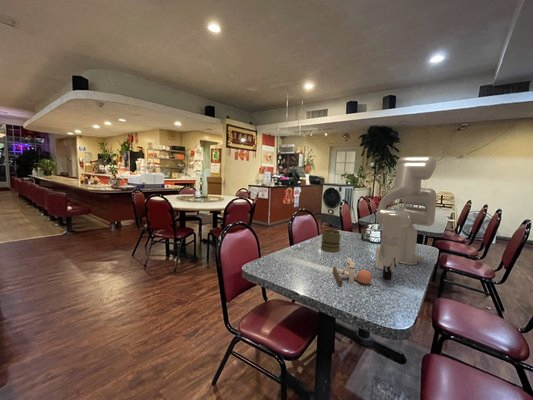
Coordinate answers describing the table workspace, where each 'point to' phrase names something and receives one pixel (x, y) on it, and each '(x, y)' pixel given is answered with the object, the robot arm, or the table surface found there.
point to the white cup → (378, 263)
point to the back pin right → (348, 264)
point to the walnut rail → (337, 277)
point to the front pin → (346, 273)
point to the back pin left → (351, 272)
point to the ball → (364, 276)
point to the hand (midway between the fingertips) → (386, 279)
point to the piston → (331, 241)
